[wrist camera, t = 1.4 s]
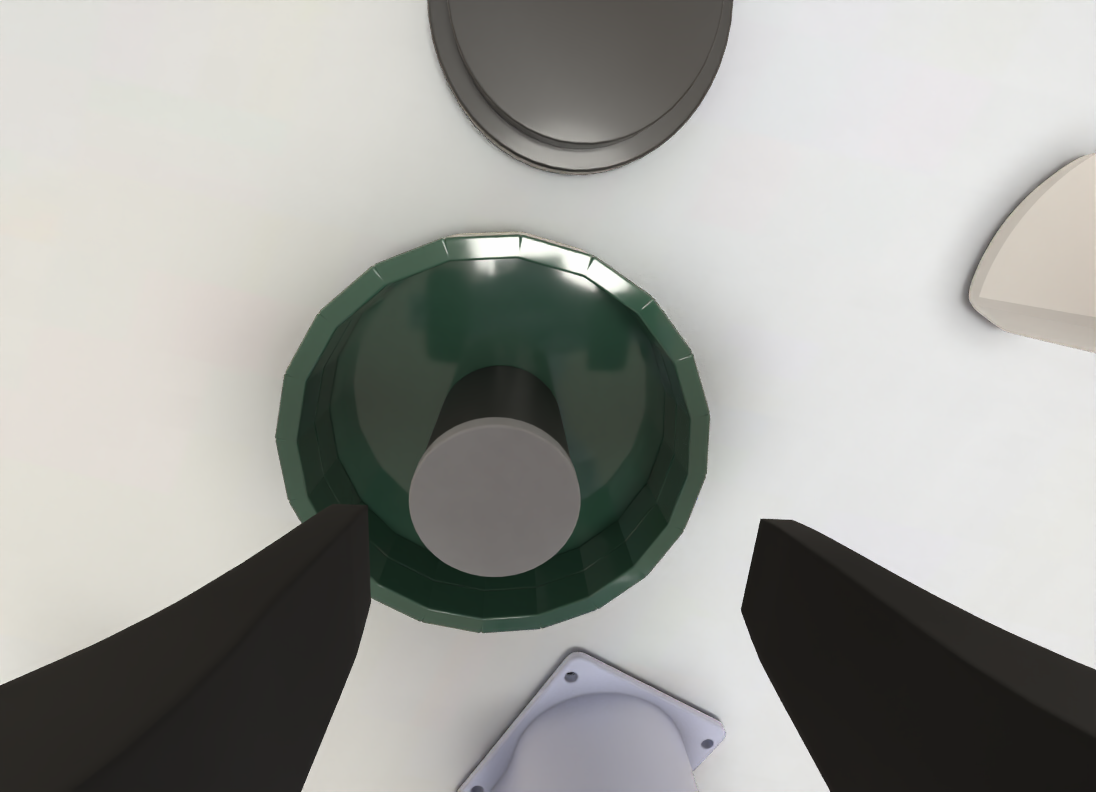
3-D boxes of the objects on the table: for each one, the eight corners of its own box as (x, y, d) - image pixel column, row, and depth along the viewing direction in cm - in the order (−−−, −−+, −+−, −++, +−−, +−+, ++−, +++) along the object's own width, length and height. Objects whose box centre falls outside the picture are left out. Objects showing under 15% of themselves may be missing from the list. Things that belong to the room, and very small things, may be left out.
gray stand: (610, 229, 17) (622, 231, 15) (378, 61, 15) (359, 39, 13) (779, -23, 15) (817, -58, 13) (537, -247, 13) (541, -323, 11)
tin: (549, 621, 21) (555, 687, 18) (254, 469, 19) (203, 518, 16) (749, 367, 19) (795, 397, 16) (435, 147, 16) (417, 131, 13)
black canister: (519, 498, 19) (520, 603, 14) (416, 440, 18) (376, 529, 13) (586, 405, 18) (614, 481, 13) (480, 339, 17) (466, 392, 12)
